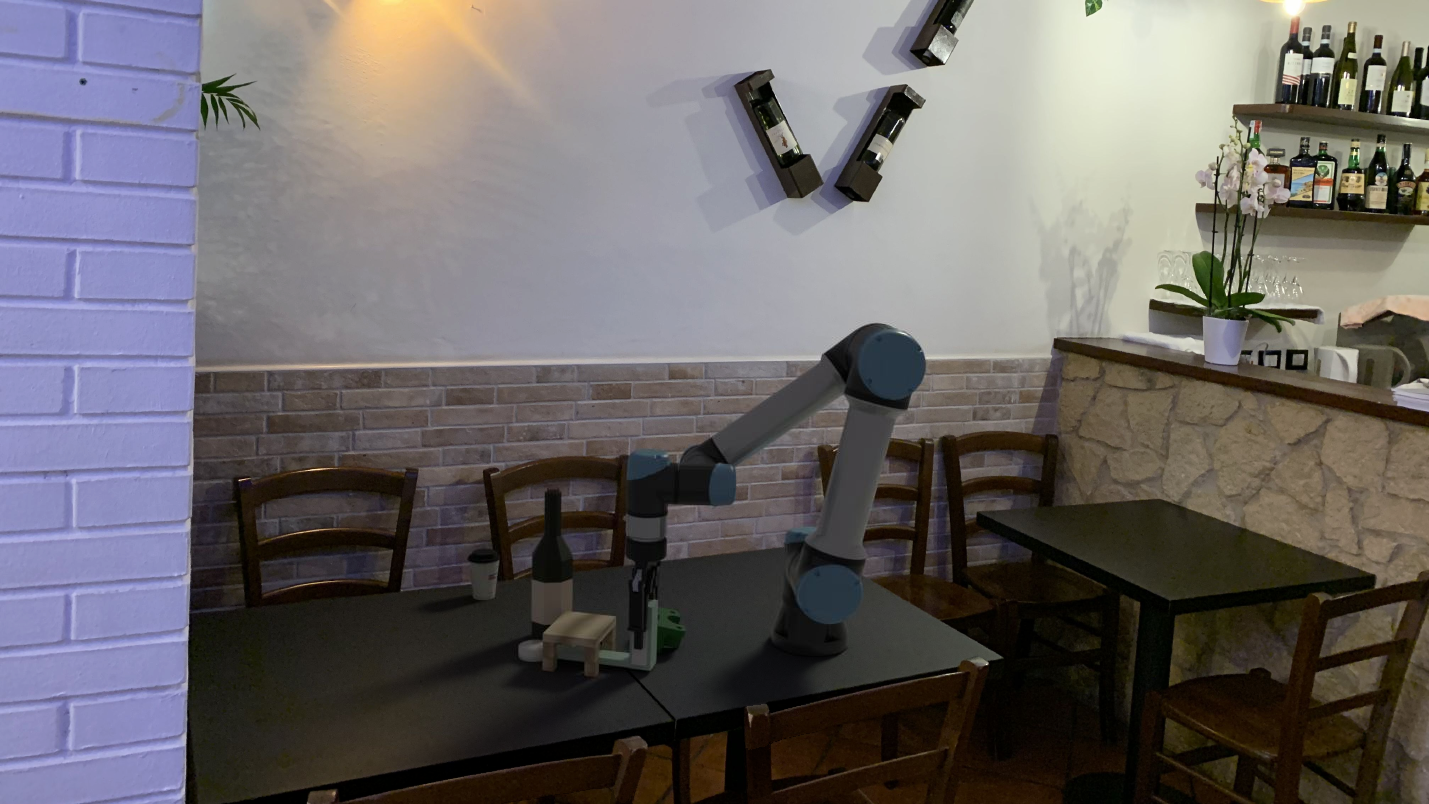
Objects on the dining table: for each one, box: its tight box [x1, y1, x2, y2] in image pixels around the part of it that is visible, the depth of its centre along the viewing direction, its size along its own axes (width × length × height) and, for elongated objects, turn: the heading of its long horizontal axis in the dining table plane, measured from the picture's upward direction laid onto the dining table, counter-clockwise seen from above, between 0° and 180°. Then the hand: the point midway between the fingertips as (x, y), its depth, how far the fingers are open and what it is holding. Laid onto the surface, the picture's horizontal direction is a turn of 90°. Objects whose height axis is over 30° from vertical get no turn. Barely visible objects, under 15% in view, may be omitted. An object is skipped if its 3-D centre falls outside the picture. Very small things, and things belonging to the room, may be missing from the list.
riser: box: [542, 610, 617, 678], centre depth 198 cm, size 10×12×7 cm
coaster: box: [517, 639, 543, 663], centre depth 200 cm, size 6×6×2 cm
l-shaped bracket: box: [557, 599, 658, 671], centre depth 197 cm, size 20×4×12 cm, turn 78°
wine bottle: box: [530, 486, 574, 645], centre depth 207 cm, size 8×8×30 cm
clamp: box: [656, 606, 687, 654], centre depth 208 cm, size 12×6×9 cm
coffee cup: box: [466, 547, 501, 601], centre depth 230 cm, size 7×7×10 cm
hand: (642, 659), depth 196 cm, fingers closed on l-shaped bracket, 4 cm apart
